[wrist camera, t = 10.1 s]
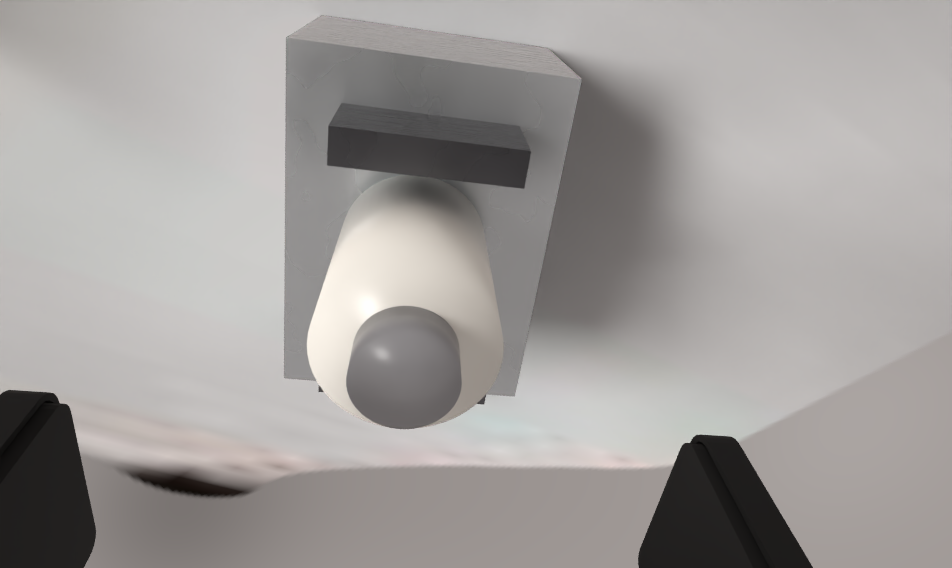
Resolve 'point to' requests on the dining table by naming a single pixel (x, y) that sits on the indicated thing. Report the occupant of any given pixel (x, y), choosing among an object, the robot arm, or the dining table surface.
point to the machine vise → (422, 153)
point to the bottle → (407, 308)
